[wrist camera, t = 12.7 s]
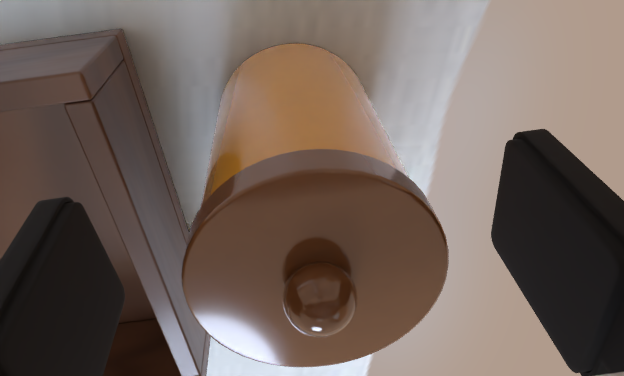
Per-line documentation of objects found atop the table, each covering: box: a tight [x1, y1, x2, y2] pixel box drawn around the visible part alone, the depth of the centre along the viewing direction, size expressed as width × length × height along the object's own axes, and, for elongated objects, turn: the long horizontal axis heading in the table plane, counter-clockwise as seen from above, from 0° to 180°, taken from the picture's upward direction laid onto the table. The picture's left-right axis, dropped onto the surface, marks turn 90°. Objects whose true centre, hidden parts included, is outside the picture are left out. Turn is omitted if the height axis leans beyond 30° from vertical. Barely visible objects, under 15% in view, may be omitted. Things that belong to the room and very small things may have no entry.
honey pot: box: [181, 43, 448, 367], centre depth 13 cm, size 6×6×10 cm
